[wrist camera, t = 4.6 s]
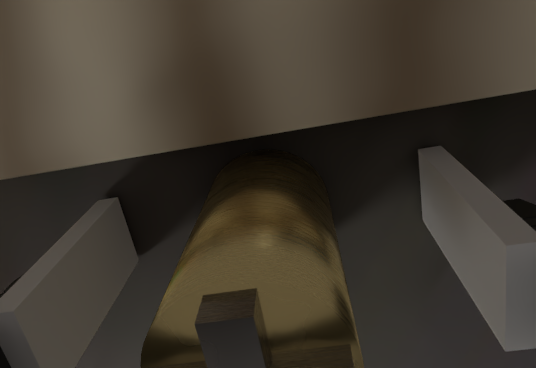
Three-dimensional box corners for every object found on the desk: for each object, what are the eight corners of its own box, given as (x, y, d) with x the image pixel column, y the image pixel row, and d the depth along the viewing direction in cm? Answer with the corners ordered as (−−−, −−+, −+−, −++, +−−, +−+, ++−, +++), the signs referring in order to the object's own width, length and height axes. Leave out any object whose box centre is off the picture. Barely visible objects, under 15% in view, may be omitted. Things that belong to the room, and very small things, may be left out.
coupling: (223, 265, 17) (163, 500, 9) (196, 160, 16) (93, 326, 7) (336, 250, 17) (382, 482, 8) (319, 139, 15) (357, 293, 7)
